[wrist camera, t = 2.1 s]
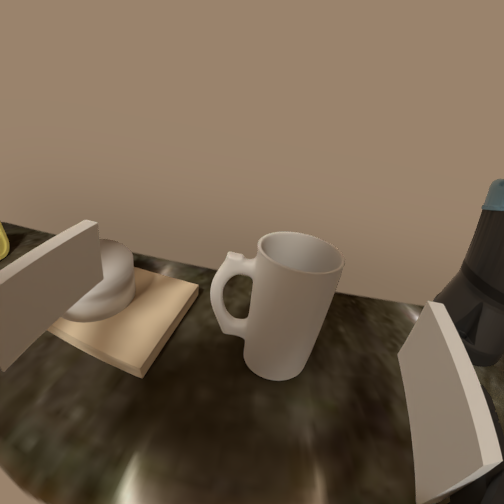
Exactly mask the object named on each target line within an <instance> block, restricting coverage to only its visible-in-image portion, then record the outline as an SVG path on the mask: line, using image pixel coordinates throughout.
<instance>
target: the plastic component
mask: <svg viewBox="0 0 504 504" xmlns="http://www.w3.org/2000/svg"><path fill="white" fill-rule="evenodd" d="M8 252H9V240H8V238H7V236H6V233H5V231H4V229H3V226H2V224H1V221H0V260H1V259H3V258H5V257H6V256H7V254H8Z"/></svg>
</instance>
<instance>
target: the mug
mask: <svg viewBox="0 0 504 504" xmlns="http://www.w3.org/2000/svg"><path fill="white" fill-rule="evenodd" d="M344 265H345V258H344V256H343V254H342V253H341V252H340V251H339V250H338V249H337V248H336V247H335V246H333V245H332V244H330V243H328V242H326V241H324V240H322V239H319V238H317V237H314V236H310V235H307V234H302V233H296V232H274V233H270V234H267V235H265V236H263V237H262V238H261V239H260V240H259V241H258V252H257V256H256V257H255V258H254V259H246V258H245V257H244V256H243V254H239V253H234V252H231V251H229V252H228V254H227V257H226V259H225V261H224V262H223V264H222V265H221V267H220V268H219V270H218V271H217V273H216V275H215V276H214V279H213V281H212V285H211V291H210V297H211V304H212V308H213V311H214V313H215V316H216V318H217V320H218V323H219V325H220V328H221V330H222V332H223V333H224V334H230V335H236V336H239V337H241V338H243V339H244V340H245V345H244V353H243V355H244V360H245V363H246V365H247V366H248V367H249V369H250V370H251V371H252V372H254V373H255V374H257V375H258V376H260V377H262V378H265V379H268V380H274V381H283V380H288V379H291V378H294V377H295V376H297V375H298V374H299V373H300V372H301V371H302V370H303V368H304V366H305V364H306V362H307V360H308V358H309V356H310V353H311V351H312V349H313V346H314V344H315V341H316V339H317V337H318V334H319V332H320V329H321V327H322V324H323V322H324V319H325V317H326V314H327V312H328V309H329V306H330V304H331V301H332V298H333V296H334V293H335V290H336V288H337V285H338V282H339V279H340V276H341V273H342V269H343V267H344ZM237 274H245V275H248V276H250V277H251V278H252V279H253V288H252V295H251V302H250V310H249V315H248V317H247V318H246V319H237V318H234V317H232V316H231V315H230V314H229V313H228V311H227V310H226V308H225V306H224V302H223V288H224V286H225V284H226V282H227V281H228V280H229V279H230V278H231V277H232V276H234V275H237Z"/></svg>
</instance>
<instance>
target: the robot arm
mask: <svg viewBox="0 0 504 504" xmlns="http://www.w3.org/2000/svg"><path fill="white" fill-rule="evenodd" d="M482 209H483V210H482V213H481V216H480V219H479V222H478V225H477V228H476V231H475V234H474V237H473V239H472V242H471V244H470V247H469V249H468V251H467V254H466V257H465V259H464V261H463V264H462V266H461V268H460V270H459V272H458V273H457V274H456V276H455V277H454V278H453V279H452V280H451V281H450V282H449V283H448V285H447V286H446V287H445V288H444V289H443V291H442V292H441V293H439V294H438V295H437V296H436V297H435V299H434V300H433V301H427V302H426V304H425V306H424V308H423V310H422V312H421V314H420V316H419V318H418V320H417V322H416V323H415V325H414V327H413V329H412V331H411V332H410V334H409V336H408V338H407V339H406V341H405V343H404V345H403V346H402V348H401V350H400V351H399V353H398V359H399V364H400V368H401V373H402V378H403V384H404V389H405V395H406V401H407V407H408V413H409V420H410V428H411V436H412V444H413V454H414V466H415V482H416V504H434V503H438V502H440V501H441V500H443V499H445V498H447V497H449V496H450V502H449V503H447V504H504V435H503V432H502V428H501V425H500V423H498V421H499V419H498V415H497V412H495V410H496V409H495V406H494V404H493V401H492V398H491V396H490V395H489V393H488V392H487V390H486V389H485V388H484V386H483V385H480V383H479V380H478V378H477V375H476V373H475V370H474V368H473V365H472V364H474V365H477V366H491V365H494V364H495V363H497V362H498V360H499V359H500V358H501V356H502V355H503V353H504V179H497V180H495V181H494V182H493V183H492V184H491V186H490V188H489V191H488V194H487V197H486V200H485V203H484V205H483V206H482ZM103 279H104V276H103V268H102V260H101V251H100V241H99V230H98V223H97V222H93V221H89V220H84V221H82V222H80V223H78V224H76V225H74V226H73V227H71V228H69V229H67V230H66V231H64V232H62V233H60V234H58V235H57V236H55V237H53V238H51V239H50V240H48V241H46V242H45V243H43V244H41V245H40V246H38V247H36V248H35V249H33V250H31V251H30V252H28V253H27V254H25V255H23V256H22V257H20V258H19V259H17V260H16V261H14V262H12V263H11V264H9V265H8V266H6V267H5V268H3V269H2V270H0V369H1V370H2V371H3V372H5V371H6V369H7V368H8V367H9V366H10V365H11V364H12V363H13V362H14V361H15V360H16V359H17V358H18V357H19V356H20V355H21V354H22V353H23V352H24V351H25V350H26V349H27V348H28V347H29V346H30V345H31V344H32V343H33V342H34V341H35V340H36V339H37V338H38V337H39V336H41V335H42V334H43V333H44V332H45V331H46V330H47V329H48V328H49V327H50V326H51V325H52V324H53V323H54V322H55V321H57V320H58V319H59V318H60V317H61V316H62V315H63V314H64V313H65V312H66V311H67V310H69V309H70V308H71V307H72V306H73V305H74V304H75V303H76V302H78V301H79V300H80V299H81V298H82V297H83V296H84V295H86V294H87V293H88V292H89V291H90V290H91V289H93V288H94V287H95V286H96V285H97V284H98V283H100V282H101V281H102V280H103Z"/></svg>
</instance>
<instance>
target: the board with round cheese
mask: <svg viewBox="0 0 504 504" xmlns="http://www.w3.org/2000/svg"><path fill="white" fill-rule="evenodd" d="M99 241H100V251H101V260H102V268H103V276H104V279H103V280H102V281H101V282H100V283H98V284H97V285H96V286H95V287H94V288H93V289H91V290H90V291H89V292H88V293H87V294H86V295H84V296H83V297H82V298H81V299H80V300H79V301H78V302H76V303H75V304H74V305H73V306H72V307H71V308H70V309H69V310H67V311H66V312H65V313H64V314H63V315H62V316H61V317H60V318H59V319H58V320H57V321H55V322H54V323H53V324H52V325H51V326H50V327H49V328H48V329H47V331H49V332H51V333H52V334H54V335H56V336H57V337H59V338H61V339H63V340H64V341H66V342H68V343H70V344H71V345H73V346H75V347H77V348H79V349H81V350H82V351H84V352H86V353H88V354H90V355H92V356H94V357H96V358H98V359H100V360H102V361H104V362H106V363H108V364H110V365H112V366H114V367H117V368H119V369H121V370H123V371H125V372H128V373H130V374H132V375H134V376H137V377H139V378H142V379H143V377H144V376H145V374H146V373H147V371H148V369H149V368H150V366H151V365H152V363H153V362H154V360H155V359H156V357H157V356H158V354H159V353H160V351H161V350H162V348H163V347H164V345H165V344H166V342H167V341H168V339H169V338H170V336H171V335H172V333H173V332H174V330H175V329H176V327H177V326H178V324H179V323H180V321H181V320H182V318H183V317H184V315H185V314H186V312H187V311H188V309H189V308H190V306H191V305H192V304H193V302H194V301H195V299H196V298H197V296H198V288H199V285H197V284H193V283H189V282H186V281H182V280H178V279H175V278H171V277H168V276H164V275H161V274H157V273H154V272H150V271H147V270H143V269H140V268H136V267H134V264H133V255H132V252H131V251H130V250H129V248H128V247H126V246H125V245H123V244H121V243H119V242H116V241H113V240H107V239H99Z"/></svg>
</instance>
